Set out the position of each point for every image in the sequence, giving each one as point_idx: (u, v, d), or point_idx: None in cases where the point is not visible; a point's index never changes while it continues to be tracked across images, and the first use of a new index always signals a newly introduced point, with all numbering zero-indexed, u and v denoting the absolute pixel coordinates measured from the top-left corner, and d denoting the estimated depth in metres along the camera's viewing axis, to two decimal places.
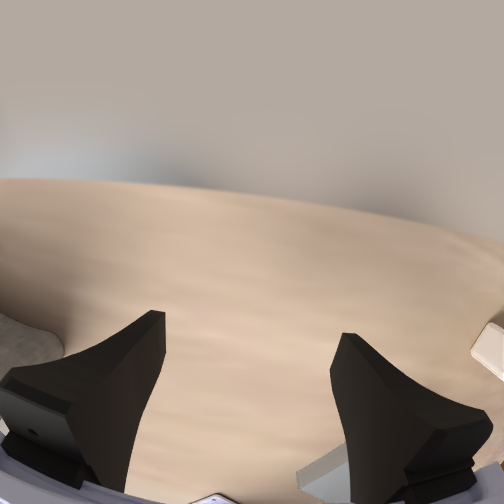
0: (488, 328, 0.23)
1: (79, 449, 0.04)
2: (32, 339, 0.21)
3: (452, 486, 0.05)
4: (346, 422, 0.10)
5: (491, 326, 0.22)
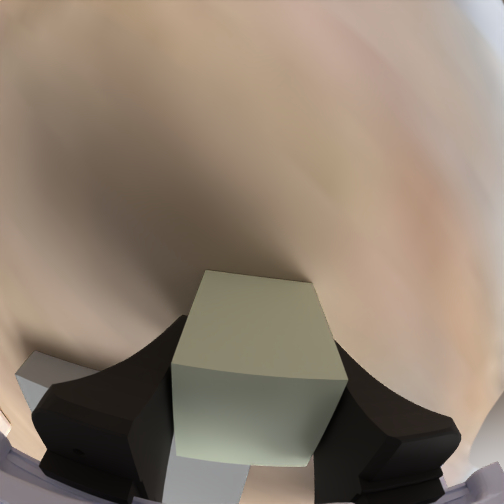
0: None
1: (135, 467, 0.05)
2: None
3: (415, 497, 0.05)
4: None
5: None
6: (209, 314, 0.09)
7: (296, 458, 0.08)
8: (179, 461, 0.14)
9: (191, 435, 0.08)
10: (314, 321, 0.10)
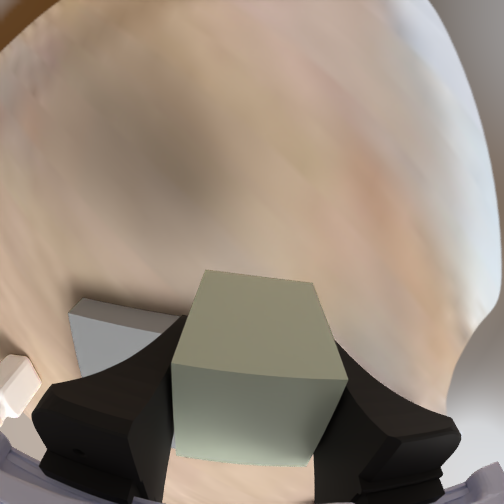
0: None
1: (135, 467, 0.05)
2: None
3: (415, 497, 0.05)
4: None
5: None
6: (209, 314, 0.09)
7: (296, 458, 0.08)
8: None
9: (191, 435, 0.08)
10: (314, 320, 0.10)
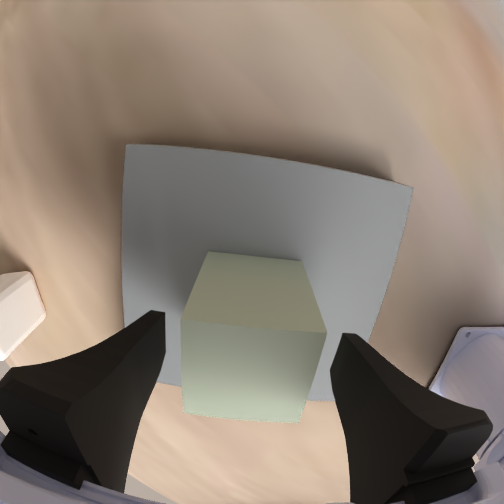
0: None
1: (79, 449, 0.04)
2: None
3: (452, 486, 0.05)
4: (346, 422, 0.10)
5: None
6: (212, 284, 0.11)
7: (289, 413, 0.10)
8: (324, 250, 0.15)
9: (196, 389, 0.10)
10: (300, 289, 0.12)
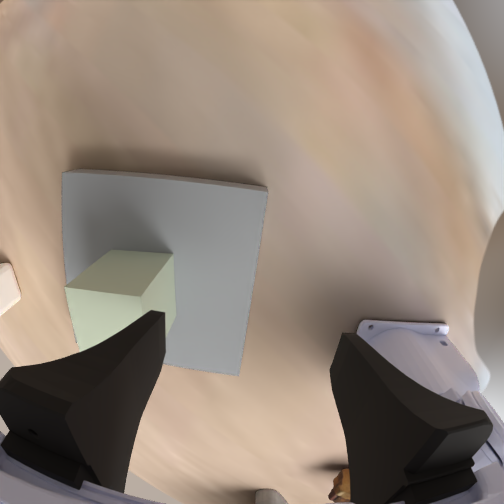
0: None
1: (78, 449, 0.04)
2: None
3: (452, 486, 0.05)
4: (346, 422, 0.10)
5: None
6: (95, 269, 0.16)
7: None
8: (195, 244, 0.19)
9: (82, 337, 0.15)
10: (150, 271, 0.16)
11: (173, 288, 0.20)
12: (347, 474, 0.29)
